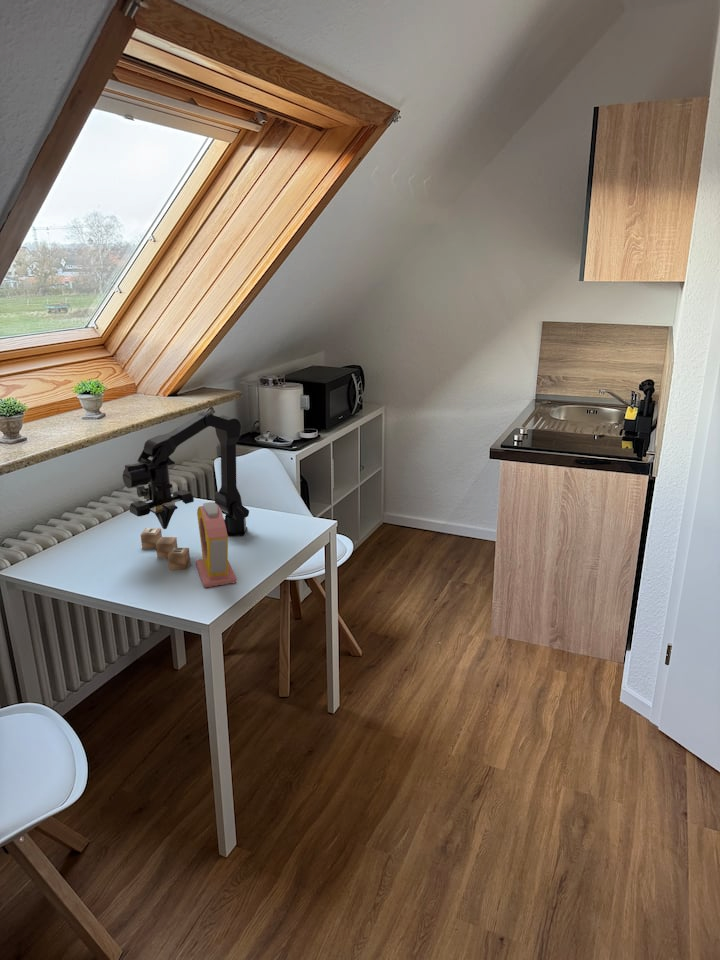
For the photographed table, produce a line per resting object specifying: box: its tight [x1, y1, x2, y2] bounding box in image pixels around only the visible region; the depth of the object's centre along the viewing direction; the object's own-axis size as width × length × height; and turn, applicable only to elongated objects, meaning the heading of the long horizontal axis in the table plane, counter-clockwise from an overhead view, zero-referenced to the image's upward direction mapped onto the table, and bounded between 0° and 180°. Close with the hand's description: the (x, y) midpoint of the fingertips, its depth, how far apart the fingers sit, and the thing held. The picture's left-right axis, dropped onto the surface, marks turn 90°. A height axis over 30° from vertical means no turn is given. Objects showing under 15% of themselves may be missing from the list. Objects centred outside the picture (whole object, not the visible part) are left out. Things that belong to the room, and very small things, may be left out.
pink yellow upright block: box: [195, 501, 238, 589], centre depth 200 cm, size 22×9×22 cm, turn 21°
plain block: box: [155, 536, 178, 559], centre depth 215 cm, size 5×5×5 cm
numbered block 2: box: [167, 547, 191, 571], centre depth 207 cm, size 5×5×5 cm
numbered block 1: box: [140, 527, 163, 550], centre depth 222 cm, size 5×5×5 cm
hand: (164, 528), depth 213 cm, fingers closed
